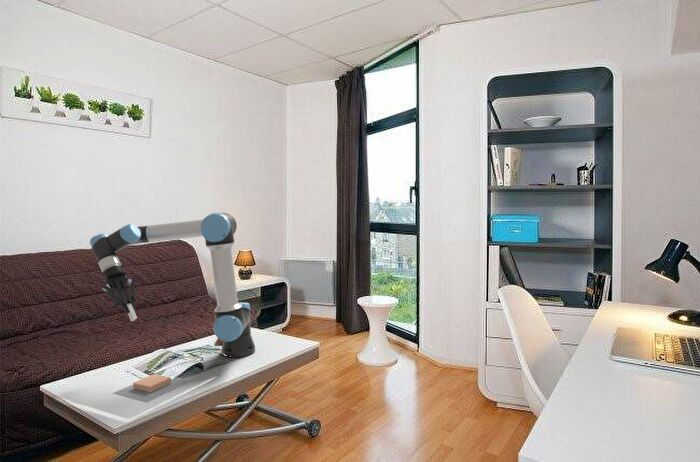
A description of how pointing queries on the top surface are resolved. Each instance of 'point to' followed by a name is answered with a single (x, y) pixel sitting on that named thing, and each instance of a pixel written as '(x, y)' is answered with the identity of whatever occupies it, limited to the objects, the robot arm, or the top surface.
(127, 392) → the board
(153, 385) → the tile
